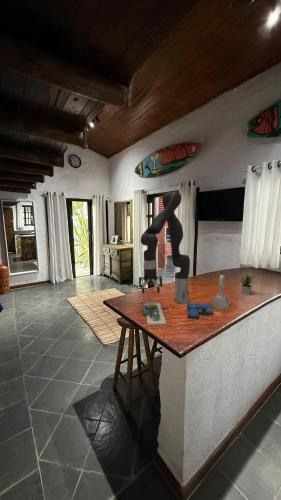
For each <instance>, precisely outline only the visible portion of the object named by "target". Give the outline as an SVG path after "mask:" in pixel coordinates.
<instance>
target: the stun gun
mask: <svg viewBox="0 0 281 500" xmlns="http://www.w3.org/2000/svg"><path fill="white" fill-rule="evenodd" d="M186 307H187V319H189V320H190V319H191V320H199V319H200V316H210V315H212V316H213V314H214V310H213V304H212V303H197V302H196V303H192V302H191V303H190V302H188V303H186Z"/></svg>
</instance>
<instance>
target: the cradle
mask: <svg viewBox="0 0 281 500" xmlns="http://www.w3.org/2000/svg"><path fill="white" fill-rule="evenodd" d="M155 308H156V309H155V311H156V312H157V313H158V314H159V310H158V306H157V305H155ZM143 315H144V316H146V315H149V310H147V308H146V305H145V304H144V305H143Z"/></svg>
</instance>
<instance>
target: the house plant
mask: <svg viewBox="0 0 281 500" xmlns="http://www.w3.org/2000/svg"><path fill="white" fill-rule="evenodd" d="M238 274H239V276H240V278H241V280H239V283H242V284H241V290H242V294H243V295H247V296H249V295H251V292H252V288H253V285H252V284H254V283H257V281H253V280H255V278H256V275H255V274H253V275H252V276H250V274H249V272H247V273H245V278H244V276H242V274H240V273H238Z"/></svg>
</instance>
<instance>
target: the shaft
mask: <svg viewBox="0 0 281 500" xmlns="http://www.w3.org/2000/svg"><path fill="white" fill-rule="evenodd" d="M149 317H150V318H151V317H152V320H153V321H158V320H160V315H159V314H158V313H157V312H156V311H155V310H153V309H150V310H149Z"/></svg>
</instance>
